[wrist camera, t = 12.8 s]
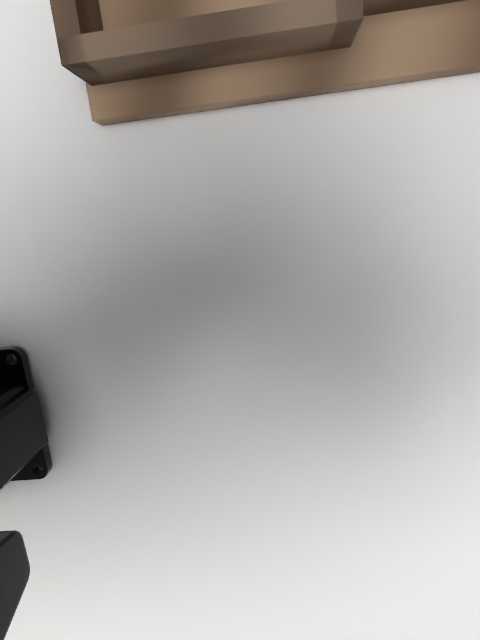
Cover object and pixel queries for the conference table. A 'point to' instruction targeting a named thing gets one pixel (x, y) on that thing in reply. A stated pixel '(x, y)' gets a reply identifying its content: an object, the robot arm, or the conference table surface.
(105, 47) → the keyhole track
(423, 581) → the conference table surface
